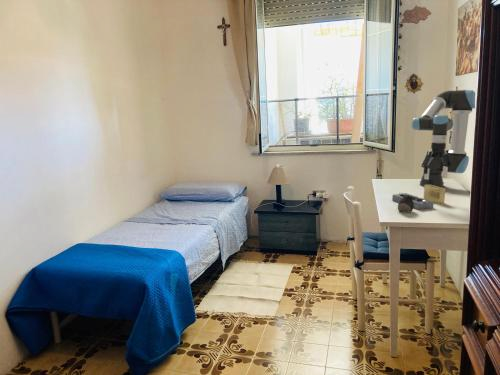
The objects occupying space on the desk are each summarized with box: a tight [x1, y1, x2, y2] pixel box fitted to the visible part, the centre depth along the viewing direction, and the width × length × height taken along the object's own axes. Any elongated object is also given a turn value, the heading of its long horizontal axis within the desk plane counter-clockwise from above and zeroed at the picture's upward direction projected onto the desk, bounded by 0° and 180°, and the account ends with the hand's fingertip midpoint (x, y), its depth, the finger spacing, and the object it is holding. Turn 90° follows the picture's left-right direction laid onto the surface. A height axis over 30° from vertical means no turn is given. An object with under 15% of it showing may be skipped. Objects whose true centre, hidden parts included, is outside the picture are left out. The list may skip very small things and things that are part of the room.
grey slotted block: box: [391, 192, 435, 211], centre depth 223 cm, size 10×22×4 cm, turn 19°
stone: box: [397, 195, 415, 213], centre depth 209 cm, size 8×7×10 cm
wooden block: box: [423, 184, 447, 205], centre depth 228 cm, size 4×12×9 cm, turn 19°
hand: (435, 178), depth 225 cm, fingers open, 13 cm apart
